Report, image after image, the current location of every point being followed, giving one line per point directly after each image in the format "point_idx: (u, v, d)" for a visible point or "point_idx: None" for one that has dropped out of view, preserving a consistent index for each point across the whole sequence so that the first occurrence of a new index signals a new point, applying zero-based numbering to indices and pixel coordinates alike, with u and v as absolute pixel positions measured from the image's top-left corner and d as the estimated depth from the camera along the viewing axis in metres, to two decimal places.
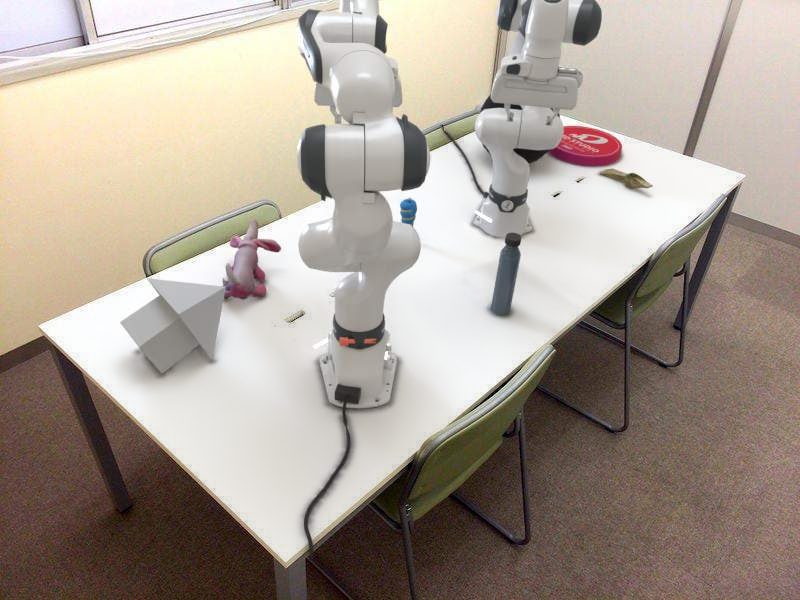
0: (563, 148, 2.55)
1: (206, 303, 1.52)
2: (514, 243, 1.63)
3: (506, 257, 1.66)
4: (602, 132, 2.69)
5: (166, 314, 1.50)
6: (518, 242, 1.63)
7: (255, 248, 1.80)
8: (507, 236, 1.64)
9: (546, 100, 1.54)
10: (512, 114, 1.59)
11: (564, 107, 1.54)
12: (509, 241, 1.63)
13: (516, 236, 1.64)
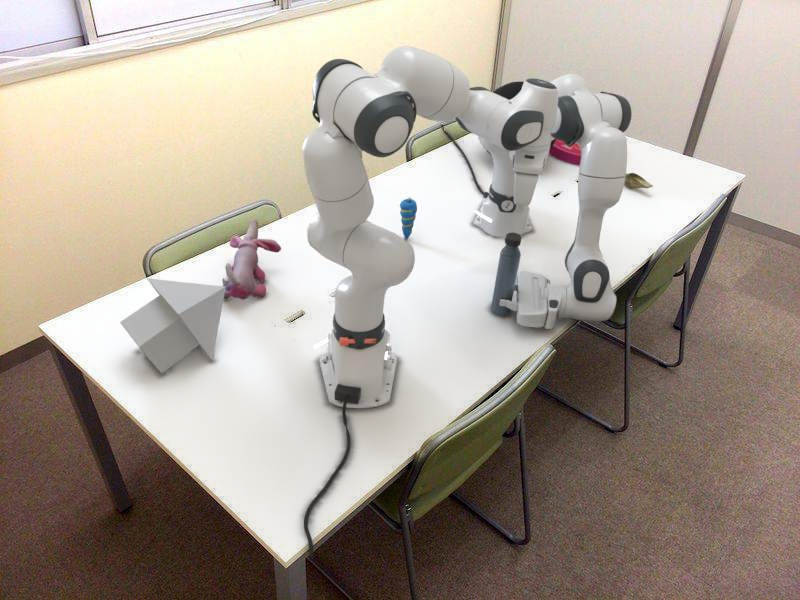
0: (563, 148, 2.55)
1: (206, 303, 1.52)
2: (514, 243, 1.63)
3: (506, 257, 1.66)
4: None
5: (166, 314, 1.50)
6: (518, 242, 1.63)
7: (255, 248, 1.80)
8: (507, 236, 1.64)
9: None
10: None
11: None
12: (509, 241, 1.63)
13: (516, 236, 1.64)
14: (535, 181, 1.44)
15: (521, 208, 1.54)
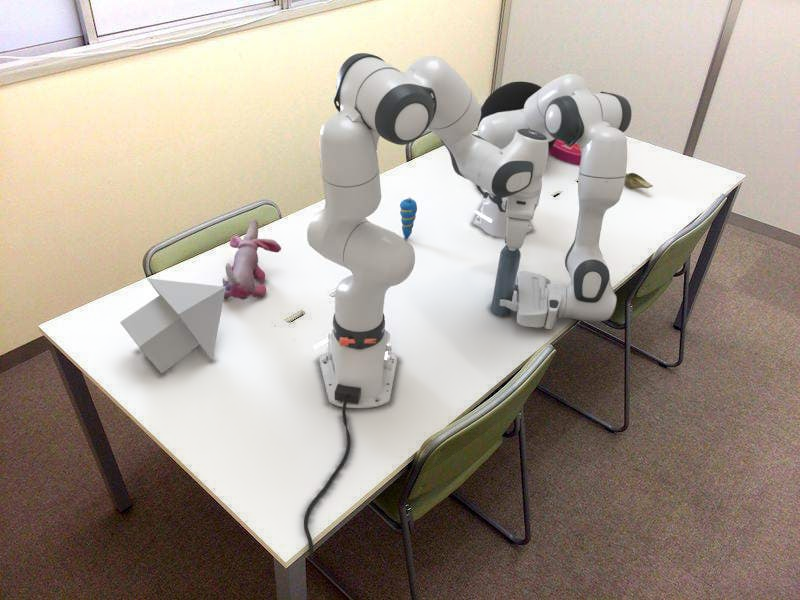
0: (563, 148, 2.55)
1: (206, 303, 1.52)
2: None
3: (506, 257, 1.66)
4: None
5: (166, 314, 1.50)
6: None
7: (255, 248, 1.80)
8: None
9: None
10: None
11: None
12: None
13: None
14: (526, 226, 1.51)
15: None
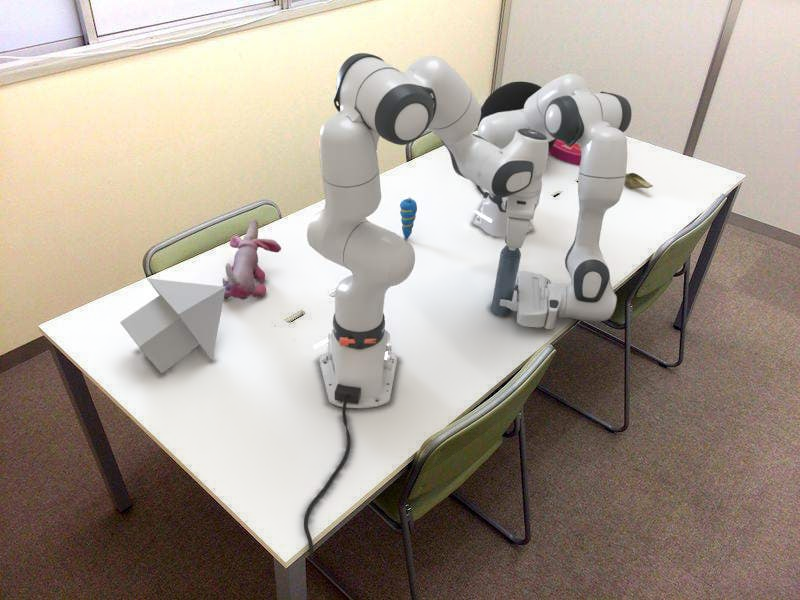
0: (563, 148, 2.55)
1: (206, 303, 1.52)
2: None
3: (506, 257, 1.66)
4: None
5: (166, 314, 1.50)
6: None
7: (255, 248, 1.80)
8: None
9: None
10: None
11: None
12: None
13: None
14: (527, 226, 1.51)
15: None
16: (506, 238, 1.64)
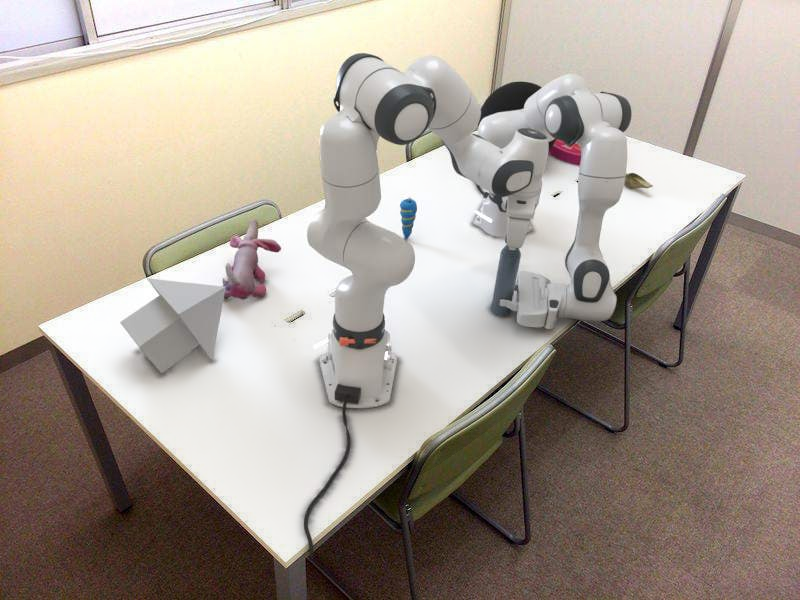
0: (563, 148, 2.55)
1: (206, 303, 1.52)
2: None
3: (506, 257, 1.66)
4: None
5: (166, 314, 1.50)
6: None
7: (255, 248, 1.80)
8: None
9: None
10: None
11: None
12: None
13: None
14: (527, 225, 1.51)
15: None
16: None
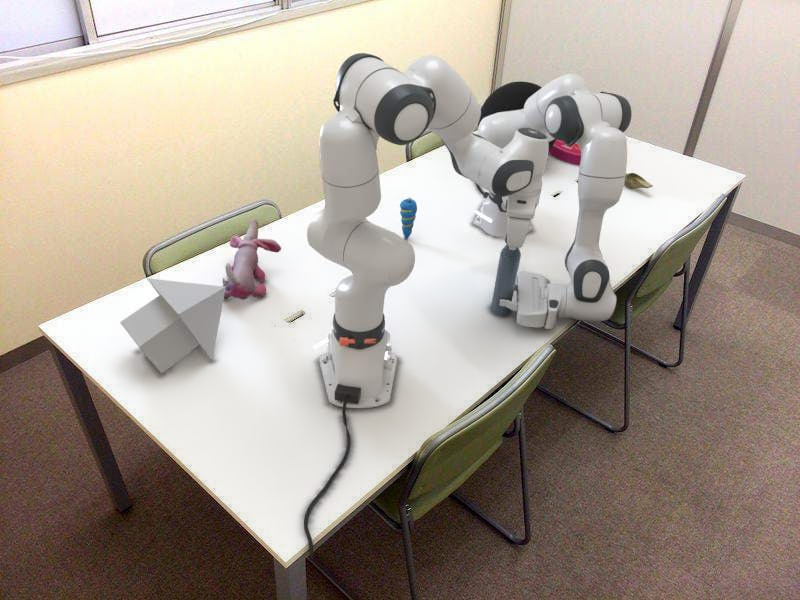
0: (563, 148, 2.55)
1: (206, 303, 1.52)
2: (506, 236, 1.65)
3: (506, 257, 1.66)
4: None
5: (166, 314, 1.50)
6: (506, 238, 1.64)
7: (255, 248, 1.80)
8: None
9: None
10: None
11: None
12: None
13: None
14: (527, 225, 1.51)
15: None
16: None
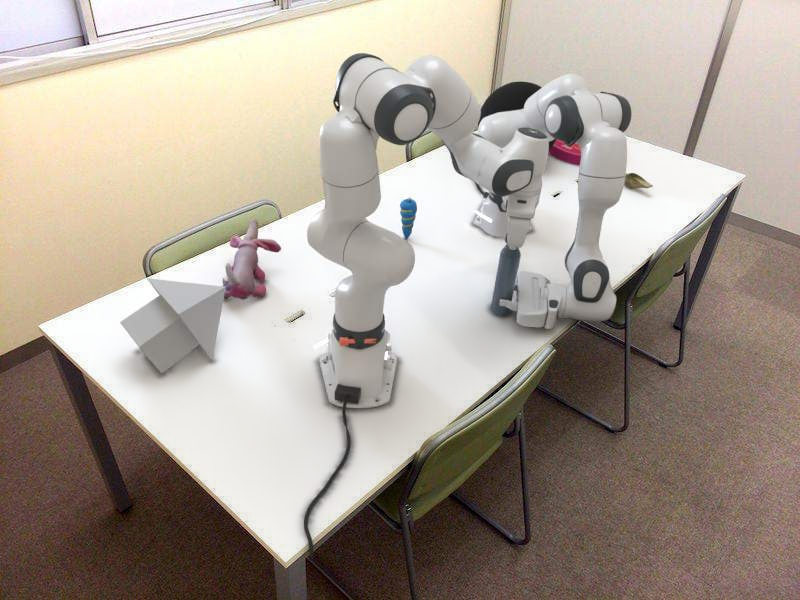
0: (563, 148, 2.55)
1: (206, 303, 1.52)
2: None
3: (506, 257, 1.66)
4: None
5: (166, 314, 1.50)
6: None
7: (255, 248, 1.80)
8: None
9: None
10: None
11: None
12: None
13: None
14: (527, 225, 1.51)
15: None
16: None
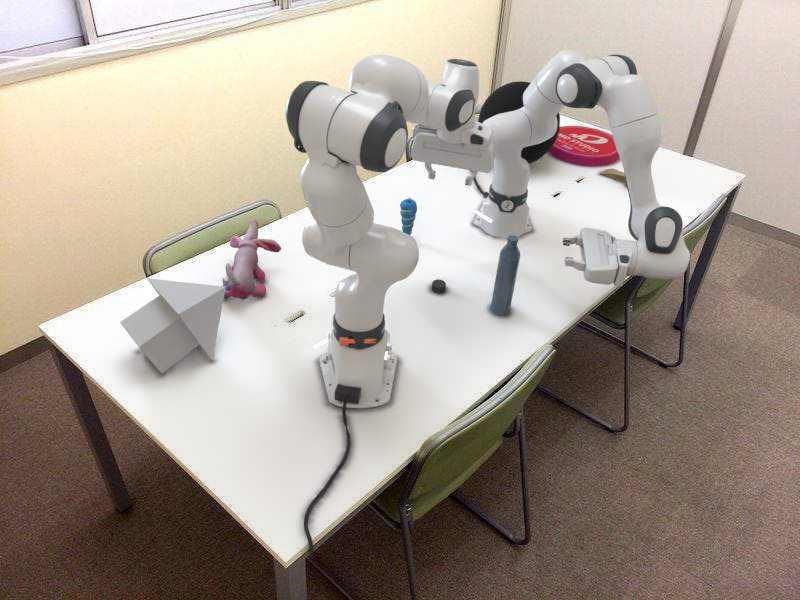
0: (563, 148, 2.55)
1: (206, 303, 1.52)
2: None
3: (506, 257, 1.66)
4: (602, 132, 2.69)
5: (166, 314, 1.50)
6: None
7: (255, 248, 1.80)
8: (443, 285, 1.82)
9: None
10: None
11: None
12: (445, 284, 1.84)
13: (437, 282, 1.84)
14: (493, 143, 1.57)
15: None
16: (436, 288, 1.82)
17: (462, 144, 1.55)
